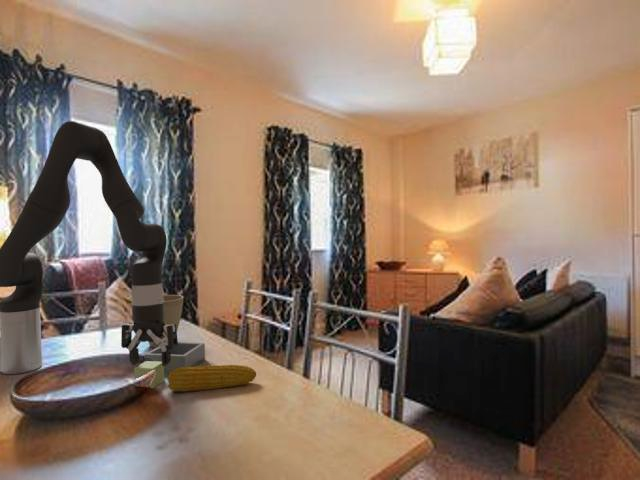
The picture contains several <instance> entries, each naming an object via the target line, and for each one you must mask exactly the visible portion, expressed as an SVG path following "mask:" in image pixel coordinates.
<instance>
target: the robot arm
mask: <svg viewBox="0 0 640 480" xmlns="http://www.w3.org/2000/svg"><path fill="white" fill-rule="evenodd" d="M50 146H51V147H50V149H49V152H48V154H47V157H46V159H45V163H44V166H43V168H42V170H41V172H40V174H39V176H38V177H37V178H38V179H37V180H36V182H35V185H34V187H33V188H32V190H31V192H30V193H29V196H28V197H27V200H26V201H25V204H24V205H23V208H22V210H21V212H20V214H19V216H18V217H17V220H16V222H15V223H14V225H13V227H12V229H11V231H10V233H9V234H8V236H7V238H5V240H4V242H3V243H2V245H0V288H12V287H15V289H14V291H13V292H12V293H11V294H10V295H8V296H6V297H5V298H3V299H2V300H0V372H1V373H2V374H4V375H18V374H25V373H28V372H32V371H35V370H37V369H39V368H41V367H42V366H43V354H42V351H43V350H42V349H43V348H42V330H41V329H42V327H41V326H42V324H41V323H42V322H41V307H40V306H41V300H42V297H43V281H44V278H43V277H44V271H43V269H44V268H43V263H42V260H41V258H40V257H39V255H37V254H36V253H35V252H30V251H31V250H32V249H33V248H34V246H35V245H36V244H38V243H39V242H40V241H42V240H43V239H45V238H46V237H47V236H48V235H50V234H51V233H52V232H54V231H55V230H56V229H57V228H58V227H59V226H60V224H62V221H63V219H64V218H65V215H66V214H67V212H68V210H69V208H70V204H71V194H70V188H69V183H68V182H69V181H68V179H69V175H70V172H71V169H72V167H73V165H74V163H75V162H76V160H77V159H79V160H83V161H88V162H90V163H91V164H92V165H94V167H95V168H96V169H97V171H98V173H99V174H100V176H101V177H100V178H101V193H102V197H103V199H104V201H105V203H106V205H107V207H108V208H109V209H110V212H111V213H112V215H113V217H114V218H115V219H116V224H117V227H118V230H119V235H120V238H121V241H122V243H123V244H124V245H125V246H126V248H127V249H129V250H130V251H133V252H138V253H139V252H140V253H141V252H142V254H141V257H140V259H139V260H137V261H135V262H133V263H132V266H131V293H130V294H131V295H130V296H131V297H130V298H131V317H132V318H131V320H132V322H133V323H131V322H128V323H125V324H122V325H121V339H120V340H121V348H122V349H127V350H128V354H129V362H130V364H131V365H132V366H135V365H137V364H138V363H139V362H140V358H139V357H140V354H139V345H140V344H141V343H146V342H148V343H149V342H155V343H156V344H157V345H159V346H160V348H161V349H162V366H166V365H168V364H169V362H170V361H171V351H170V350H171V349H173V348H174V347H176V346H178V342H179V341H178V333H177V332H178V330H177V329H176V324H174V323H173V324H171V325H165V324H164V295H165V293H164V286H163V278H162V277H163V275H162V274H163V273H162V271H163V270H162V266H163V262H164V258H165V253H166V248H167V243H168V239H167V234H166V231H165V229H164V227H163V226H161V225H160V224H158V223H154V222H153V223H148V222H147V223H146V222H145V223H142V222H141V220H140V219H141V218H142V217H143V215H144V213H145V209H144V206H143V205H142V203H141V202H140V200H139V197H137V196H136V194H135V191H133V189H132V188H131V186H130V184H129V183H128V181H127V179H126V177H125V176H124V175H125V174H124V173H123V171H122V168H121V166H120V163H119V161H118V159H117V157H116V154H115V151H114V149H113V147H112V144H111V142H110V140H109V138H108V136H107V135H106V134H105V132H104V131H103V130H101V129H100V128H97V127H96V126H92V125H89V124H86V123H82V122H78V121H74V120H67V121H64V123H63V124H61V125H60V127H59V128H58V129H57V131H56V133H55V135H54V138H53V140H52V143H51V145H50ZM164 330H165V331H166V333H167V336H168V340H167V337H166V335H165V334H164V333H163V332H164ZM132 332H134V333H135V334H134V336H133V335H132V334H133V333H132ZM132 336H133V337H132ZM159 338H161V339H159Z"/></svg>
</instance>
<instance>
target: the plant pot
mask: <svg viewBox="0 0 640 480" xmlns="http://www.w3.org/2000/svg"><path fill="white" fill-rule="evenodd" d="M183 305H184V296H183V295H180V294H179V295H178V294H164V324H165V325H171V324H173V323H174V324H176V329H177V331H178V329H179V326H180V323H181V318H182V317H181V316H182V312H183ZM163 333H164V334H165V335H166V337H167V340H168V336H167V333H166V331H165V330H164V332H163ZM159 339H161V338H159ZM148 344H149V346H150V347H152V348H157V347H159V345H157V344H156V343H155V342H148Z"/></svg>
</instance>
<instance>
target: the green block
mask: <svg viewBox="0 0 640 480" xmlns="http://www.w3.org/2000/svg"><path fill="white" fill-rule="evenodd" d="M154 369H155V370H156V375H155V378H154V380H153V381H152V383H151V385H150V388H149V389H154V388H155V387H157V386H158V385H160V384H161V383H163V382H164V381H165V373H164V366H162V362H158V361H143V362H142V363H140V364H139V365H136V366H134V370H133V371H134V380H135V379H136V378H139V377H141V376H143V375H145V374H147V373H148V372H150V371H152V370H154Z"/></svg>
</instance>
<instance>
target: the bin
mask: <svg viewBox="0 0 640 480" xmlns="http://www.w3.org/2000/svg"><path fill="white" fill-rule="evenodd" d="M205 346H206V345H205V342H187V341H186V342H185V341H178V346H176V347H174V348H173V349H171V350H170V351H171V361H170V362H169V364H168V365H166V366H164V374H168V375H169V374H170V372H171V371H172V370H174V369H177V368H180V367H195V366H196V367H197V366H199V365H200V364H201V363H202V362H203V360H204V359H205V360H206V349H205V348H206V347H205ZM143 356H144V357H143V358H150V359H152V360H153V361H158V362H162V349H161V348H160V346H159V347H154V349H152V350H150V351H148V352H146V353H144V355H143ZM205 360H204V361H205ZM200 362H201V363H200ZM199 363H200V364H199Z"/></svg>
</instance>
